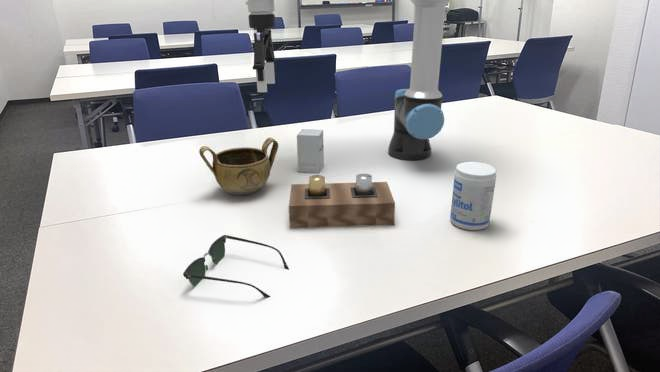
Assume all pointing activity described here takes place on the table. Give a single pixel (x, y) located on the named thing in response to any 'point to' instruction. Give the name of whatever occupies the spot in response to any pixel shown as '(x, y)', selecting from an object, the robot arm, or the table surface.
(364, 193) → the steel peg
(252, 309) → the table surface
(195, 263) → the sunglasses
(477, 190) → the supplement tub
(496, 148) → the table surface
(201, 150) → the ceramic bowl
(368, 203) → the walnut block
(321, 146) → the supplement box
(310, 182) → the brass peg
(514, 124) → the table surface
